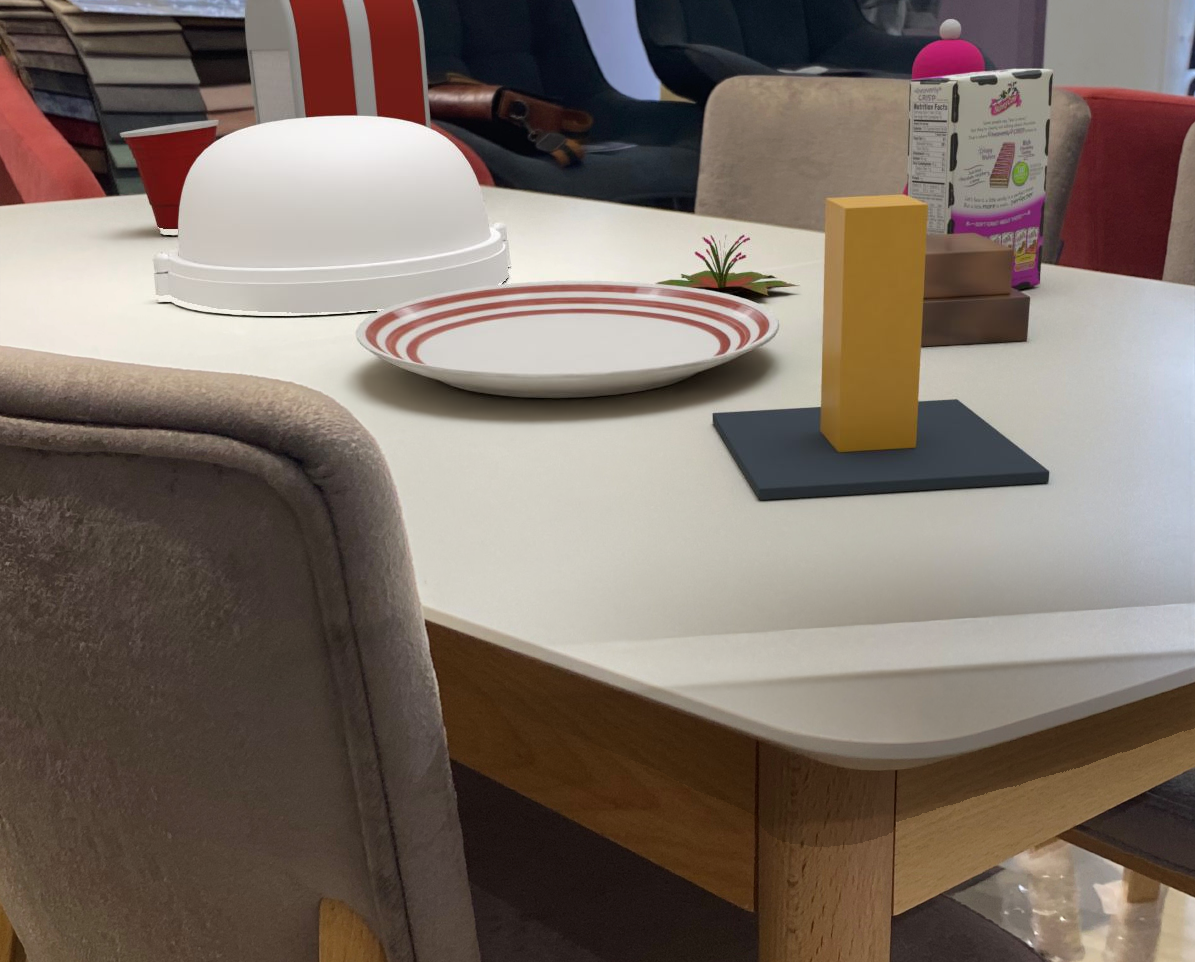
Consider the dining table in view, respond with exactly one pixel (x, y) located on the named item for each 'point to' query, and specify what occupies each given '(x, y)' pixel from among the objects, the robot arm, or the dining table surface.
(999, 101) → the candy bar box
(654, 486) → the dining table surface
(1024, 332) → the stepped bronze pedestal
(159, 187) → the plastic cup
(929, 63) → the pepper mill
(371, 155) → the dome cover
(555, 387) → the dinner plate
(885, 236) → the bar
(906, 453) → the mat
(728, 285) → the lily flower
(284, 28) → the red striped carton
